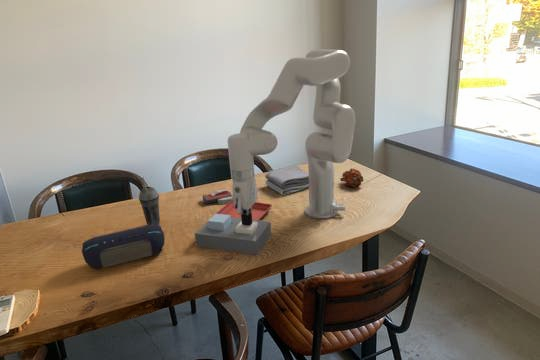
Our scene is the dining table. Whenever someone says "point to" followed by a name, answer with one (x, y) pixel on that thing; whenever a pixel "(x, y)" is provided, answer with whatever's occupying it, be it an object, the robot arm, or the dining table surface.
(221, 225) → the blue key
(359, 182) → the pine cone
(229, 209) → the plant saucer
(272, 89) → the robot arm
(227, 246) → the console
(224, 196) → the walkie-talkie
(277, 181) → the towel
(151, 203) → the beverage cup
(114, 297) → the dining table surface
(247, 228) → the white key
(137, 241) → the portable speaker
